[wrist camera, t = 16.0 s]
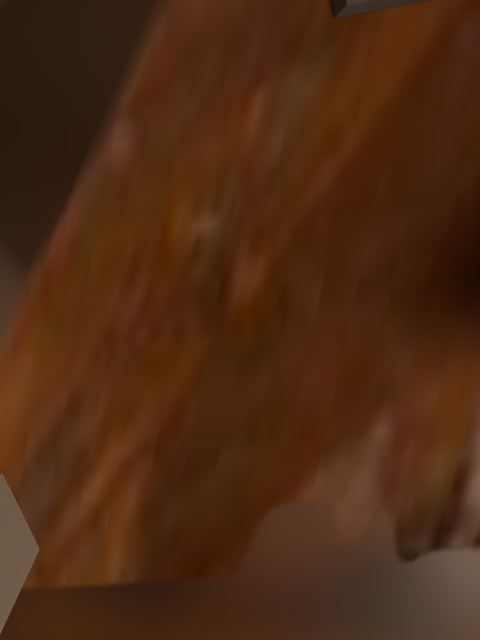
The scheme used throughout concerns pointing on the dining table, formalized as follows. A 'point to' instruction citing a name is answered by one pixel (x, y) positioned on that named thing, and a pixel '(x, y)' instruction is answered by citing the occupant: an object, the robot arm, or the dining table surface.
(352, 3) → the socket
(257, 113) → the dining table surface
